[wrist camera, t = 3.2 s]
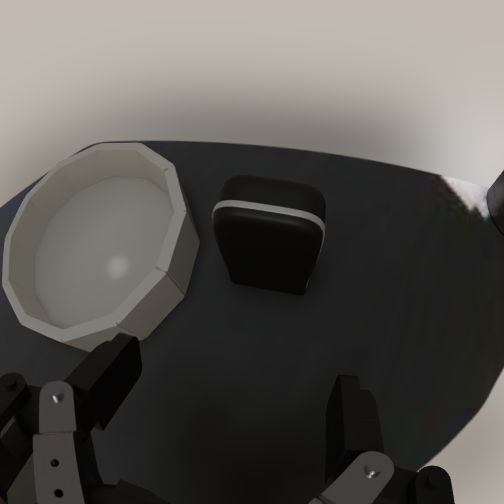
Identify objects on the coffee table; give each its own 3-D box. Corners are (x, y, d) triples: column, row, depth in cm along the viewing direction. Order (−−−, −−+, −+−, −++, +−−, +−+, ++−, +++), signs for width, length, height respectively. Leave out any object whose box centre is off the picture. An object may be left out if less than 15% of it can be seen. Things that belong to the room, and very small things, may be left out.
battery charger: (312, 257, 28) (334, 177, 18) (306, 297, 26) (329, 232, 16) (237, 244, 29) (220, 161, 19) (227, 282, 27) (202, 211, 17)
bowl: (218, 181, 32) (210, 145, 27) (166, 376, 24) (141, 370, 19) (74, 173, 35) (54, 145, 30) (13, 319, 27) (-19, 303, 22)
